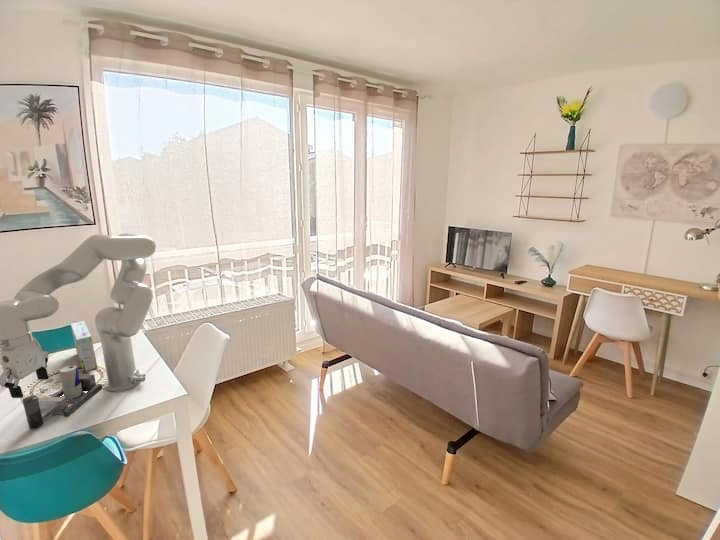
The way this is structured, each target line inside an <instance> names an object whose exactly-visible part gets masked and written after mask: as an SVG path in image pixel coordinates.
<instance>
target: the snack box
mask: <svg viewBox="0 0 720 540" xmlns="http://www.w3.org/2000/svg"><path fill="white" fill-rule="evenodd" d="M70 328H71V329H70V330H71V333H72V334H71V335H72V339H73V341H74V347H75V351H76V353H77V357H78V361H79V363H80V367H81V369H82V372H83V373H85V372H89V371H92V370H95V369H98V368H99V367H98V363H97V358H96V353H95V347H94V344H93V339H92V338H93V337H92V335H91V332H90V331H89V329H88V327H87V325H86V323H85V321H84V320H82V321H78V322H73V323H70Z"/></svg>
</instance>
